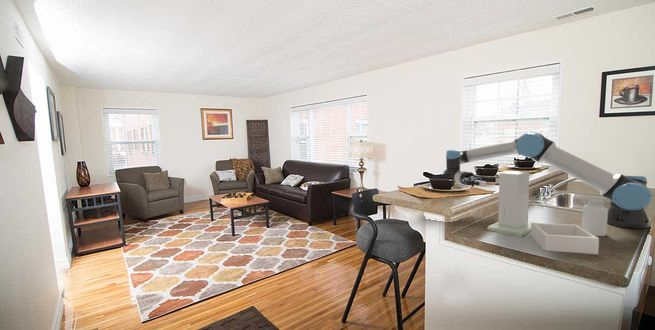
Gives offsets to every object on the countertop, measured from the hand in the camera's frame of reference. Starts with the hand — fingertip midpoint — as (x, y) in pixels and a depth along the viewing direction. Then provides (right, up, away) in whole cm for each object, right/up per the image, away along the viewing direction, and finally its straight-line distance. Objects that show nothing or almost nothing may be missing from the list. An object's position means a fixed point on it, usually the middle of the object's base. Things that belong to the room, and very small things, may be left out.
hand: (496, 183), depth 147 cm
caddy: (+9, -23, -29) cm, 38 cm away
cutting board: (+4, -21, -7) cm, 22 cm away
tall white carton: (+4, -19, -7) cm, 21 cm away
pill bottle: (+32, -21, -19) cm, 42 cm away
